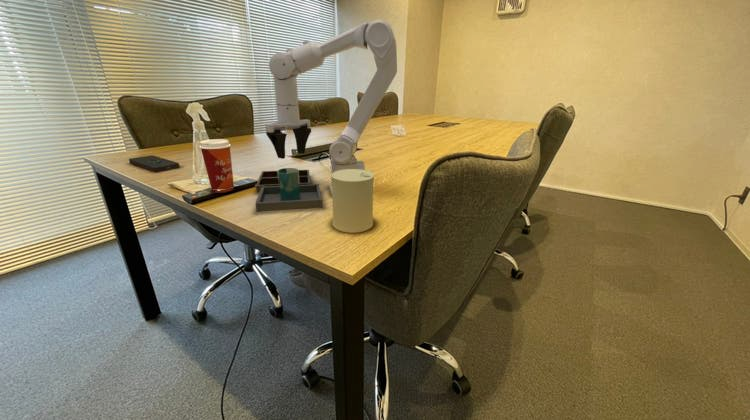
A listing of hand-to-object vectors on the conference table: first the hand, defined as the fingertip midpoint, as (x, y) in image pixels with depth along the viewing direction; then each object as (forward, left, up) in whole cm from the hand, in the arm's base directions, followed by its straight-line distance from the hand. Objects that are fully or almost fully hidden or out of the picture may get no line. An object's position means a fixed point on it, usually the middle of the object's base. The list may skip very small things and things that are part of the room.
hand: (291, 155), depth 86 cm
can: (-13, +27, -10) cm, 31 cm away
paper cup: (+20, -1, -10) cm, 22 cm away
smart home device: (+49, -33, -10) cm, 60 cm away
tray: (+1, +11, -10) cm, 15 cm away
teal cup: (+1, +11, -9) cm, 14 cm away
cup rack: (+3, -4, -10) cm, 11 cm away
